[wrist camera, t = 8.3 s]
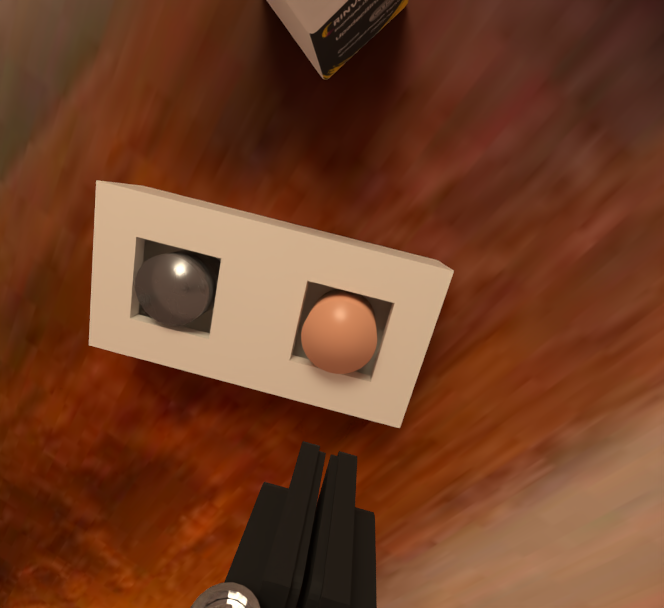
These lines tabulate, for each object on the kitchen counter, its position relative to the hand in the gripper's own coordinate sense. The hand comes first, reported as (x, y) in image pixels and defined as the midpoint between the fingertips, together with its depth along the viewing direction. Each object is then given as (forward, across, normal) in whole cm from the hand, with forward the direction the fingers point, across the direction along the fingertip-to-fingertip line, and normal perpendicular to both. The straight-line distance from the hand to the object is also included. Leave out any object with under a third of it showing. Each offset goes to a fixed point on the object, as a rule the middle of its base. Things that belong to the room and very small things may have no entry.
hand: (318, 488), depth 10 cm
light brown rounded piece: (+17, 0, 0) cm, 17 cm away
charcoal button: (+17, +12, 0) cm, 21 cm away
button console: (+19, +6, 0) cm, 20 cm away
